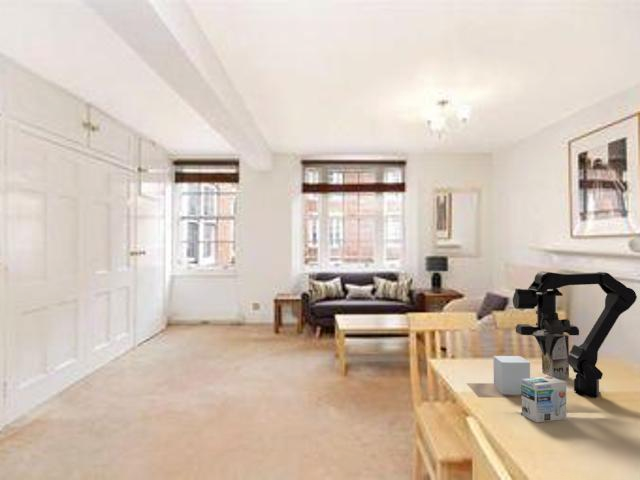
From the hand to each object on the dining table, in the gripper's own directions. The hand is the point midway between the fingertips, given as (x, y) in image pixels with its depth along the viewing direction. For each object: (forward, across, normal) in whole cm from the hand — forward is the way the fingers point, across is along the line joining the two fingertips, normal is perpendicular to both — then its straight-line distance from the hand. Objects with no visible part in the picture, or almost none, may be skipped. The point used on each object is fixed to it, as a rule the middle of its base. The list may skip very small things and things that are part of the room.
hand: (547, 355), depth 156 cm
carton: (+12, -12, 0) cm, 17 cm away
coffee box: (+13, +12, +23) cm, 29 cm away
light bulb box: (+13, -10, -21) cm, 27 cm away
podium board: (+13, -15, 0) cm, 20 cm away
